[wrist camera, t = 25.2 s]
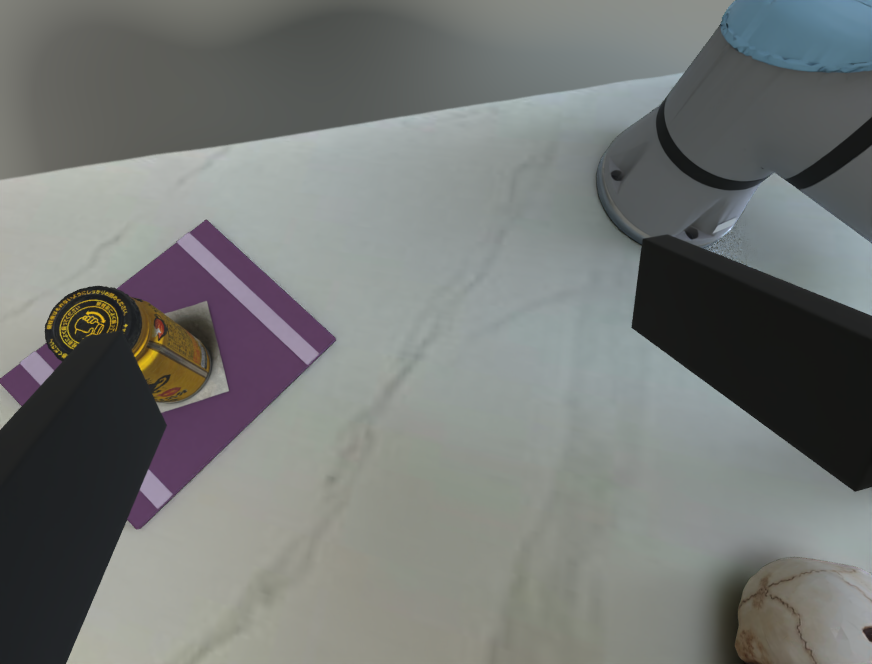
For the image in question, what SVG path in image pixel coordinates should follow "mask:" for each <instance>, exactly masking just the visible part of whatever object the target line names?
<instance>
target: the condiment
mask: <svg viewBox="0 0 872 664" xmlns="http://www.w3.org/2000/svg"><path fill="white" fill-rule="evenodd" d="M120 330H122V331H123V333H124V335H125V337H126V339H127V341H128V343H129V346H130V348H131V350H132V352H133V354H134V356H135V358H136V360H137V363H138V365H139V367H140V369H141V371H142V373H143V375H144V377H145V380H146V382H147V384H148V386H149V388H150V390H151V392H152V394H153V397H154V399H155V401H156V403H157V405H158V407H159V409H160V411H161V413H162V412H165V411H169V410H172V409H175V408H178V407H181V406H184V405H187V404H191V403H194V402H197V401H200V400H203V399H206V398H209V397H212V396H215V395H218V394H221V393H224V392H228V391H229V389H228V385H227V380H226V376H225V372H224V368H223V363H222V359H221V355H220V351H219V347H218V343H217V340H216V337H215V332H214V328H213V323H212V319H211V316H210V312H209V308H208V304H207V301H205V302H202V303H198V304H196V305H193V306H189V307H186V308H182V309H179V310H176V311H173V312H169V313H165V314H164V313H163V312H161V311H160V310H158V309H157V308H156V307H154V306H153V305H152V304H150V303H149V302H147V301H144V300H142V299H139V298H134V297H130V296H129V295H128V294H125V293H124V292H123V291H121V290H117V289H116V288H112V287H111V288H109V287H103V286H93V287H87V288H83V289H79V290H77V291H75V292H73V293H71V294H68V295H67V296H65V297H64V298H63V299H62V300H61V301H60V302H59V303H58V304H57V305H56V306H55V307H54V308H53V309H52V311H51V313H50V315H49V318H48V320H47V323H46V324H45V339H46V342H47V346H48V348H49V349H50V350H51V351H52V352H53V353H54V355H55V356H56V357H57V359H59V360H60V361H62V362H63V361H64V359H65V358H66V357H67V356H68V355H69V354H70V353H71V352H72V351H73V350H74V348H75V347H76V346H77V345H78V344H79V343H80V342H81V341H82V340H83V339H84V337H86V336H92V335H98V334H103V333H109V332H115V331H120Z"/></svg>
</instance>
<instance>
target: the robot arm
mask: <svg viewBox="0 0 872 664" xmlns="http://www.w3.org/2000/svg"><path fill="white" fill-rule="evenodd" d="M774 172H775V173H776V174H778V175H779V176H781V177H782V178H783V179H785V180H786V181H788V182H789V183H791V184H792V185H793V186H795V187H796V188H797V189H799V190H800V191H801V192H803V193H804V194H805V195H807V196H808V197H810V198H811V199H812V200H814V201H815V202H816V203H818V204H819V205H820V206H822V207H823V208H824V209H826V210H827V211H829V212H830V213H831V214H833V215H834V216H835V217H837V218H838V219H839V220H841V221H842V222H844V223H845V224H846V225H848V226H849V227H850V228H852V229H853V230H854V231H856V232H857V233H859V234H860V235H861V236H863V237H864V238H865V239H867V240H868V241H869V242H871V243H872V0H735V1H734V2H733V3H732V4H731V5H730V6H729V7H728V9H727V10H726V12H725V14H724V15H723V17H722V21H721V24H720V25H719V27H718V29H717V30H716V31H715V32H714V34H713V35H712V36H711V38H710V39H709V41H708V42H707V43H706V45H705V46H704V47H703V49H702V50H701V51H700V53H699V54H698V55H697V57H696V58H695V59H694V61H693V62H692V63H691V65H690V66H689V67H688V69H687V70H686V71H685V73H684V74H683V75H682V77H681V78H680V79H679V81H678V82H677V83H676V85H675V86H674V87H673V89H672V90H671V91H670V93H669V94H668V96H667V97H666V98H665V100H664V101H663V102H662V104H661V105H660V106H659V107H657V108H656V109H654V110H653V111H651V112H650V113H649V114H647V115H646V116H644V117H643V118H641V119H640V120H639V121H637V122H636V123H634V124H633V125H631V126H630V127H629V128H627V129H626V130H624V131H623V132H622V133H621V134H619V135H618V136H617V137H616V138H615V139H614V140H613V142H612V143H611V145H610V146H609V148H608V149H607V151H606V152H605V154H604V155H603V157H602V159H601V161H600V163H599V166H598V171H597V189H598V194H599V197H600V200H601V203H602V205H603V207H604V209H605V211H606V212H607V214H608V215H609V217H610V218H611V220H612V221H613V222H614V223H615V224H616V225H617V227H618V228H619V229H620V230H622V231H623V232H624V233H625V234H626V235H628V236H629V237H630V238H632V239H633V240H635V241H636V242H638V243H640V244H642V248H641V256H640V264H639V272H638V280H637V288H636V296H635V304H634V312H633V320H632V328H633V329H634V330H635V331H637V332H638V333H640V334H641V335H642V336H644V337H645V338H646V339H648V340H649V341H650V342H652V343H653V344H655V345H656V346H657V347H659V348H660V349H661V350H663V351H664V352H665V353H667V354H668V355H669V356H671V357H672V358H674V359H675V360H676V361H678V362H679V363H680V364H682V365H683V366H684V367H686V368H687V369H689V370H690V371H691V372H693V373H694V374H695V375H697V376H698V377H699V378H701V379H702V380H704V381H705V382H706V383H708V384H709V385H710V386H712V387H713V388H714V389H716V390H717V391H719V392H720V393H721V394H723V395H724V396H725V397H727V398H728V399H729V400H731V401H732V402H733V403H735V404H736V405H738V406H739V407H740V408H742V409H743V410H744V411H746V412H747V413H748V414H750V415H751V416H753V417H754V418H755V419H757V420H758V421H759V422H761V423H762V424H763V425H765V426H766V427H768V428H769V429H770V430H772V431H773V432H774V433H776V434H777V435H778V436H780V437H781V438H783V439H784V440H785V441H787V442H788V443H789V444H791V445H792V446H793V447H795V448H796V449H798V450H799V451H800V452H802V453H803V454H804V455H806V456H807V457H808V458H810V459H811V460H812V461H814V462H815V463H817V464H818V465H819V466H821V467H822V468H823V469H825V470H826V471H827V472H829V473H830V474H832V475H833V476H834V477H836V478H837V479H838V480H840V481H841V482H842V483H844V484H845V485H847V486H848V487H849V488H851V489H852V490H853V491H855V492H856V491H859V490H863V489H866V488H869V487H872V316H871V315H868V314H866V313H863V312H861V311H858V310H856V309H853V308H851V307H848V306H846V305H843V304H841V303H838V302H836V301H833V300H831V299H828V298H826V297H823V296H821V295H818V294H816V293H813V292H811V291H808V290H806V289H803V288H801V287H798V286H796V285H793V284H791V283H788V282H786V281H783V280H781V279H778V278H776V277H773V276H771V275H768V274H766V273H763V272H761V271H758V270H756V269H753V268H751V267H748V266H746V265H743V264H741V263H738V262H736V261H733V260H731V259H728V258H726V257H723V256H721V255H718V254H716V253H713V252H711V251H708V250H706V249H704V248H706V247H708V246H710V245H711V244H713V243H714V242H715V241H717V240H718V239H720V238H721V237H722V236H724V235H725V234H726V233H727V232H728V231H729V230H730V229H731V228H732V227H733V225H734V224H735V223H736V221H737V220H738V218H739V217H740V215H741V213H742V212H743V210H744V209H745V207H746V205H747V204H748V202H749V201H750V199H751V197H752V196H753V194H754V192H755V191H756V189H757V188H758V186H759V184H760V183H761V182H763V181H764V180H765V179H766V178H768V177H769V176H770V175H771V174H773V173H774ZM166 426H167V424H166V422H165V420H164V418H163V416H162V414H161V411H160V409H159V407H158V405H157V403H156V401H155V399H154V397H153V394H152V392H151V390H150V388H149V386H148V384H147V382H146V380H145V377H144V375H143V373H142V371H141V369H140V367H139V365H138V363H137V360H136V358H135V356H134V354H133V352H132V350H131V348H130V346H129V343H128V341H127V339H126V337H125V335H124V333H123V331H122V330H120V331H115V332H109V333H103V334H98V335H92V336H86V337H84V339H83V340H82V341H81V342H80V343H79V344H78V345H77V346H76V347H75V348H74V350H73V351H72V352H71V353H70V354H69V355H68V356H67V357H66V358H65V359H64V361H63V362H62V363H61V364H60V365H59V366H58V367H57V368H56V369H55V370H54V372H53V373H52V374H51V375H50V376H49V377H48V378H47V379H46V380H45V381H44V383H43V384H42V385H41V386H40V387H39V388H38V389H37V390H36V391H35V392H34V394H33V395H32V396H31V397H30V398H29V399H28V400H27V401H26V402H25V403H24V404H23V406H22V407H21V408H20V409H19V410H18V411H17V412H16V413H15V414H14V415H13V417H12V418H11V419H10V420H9V421H8V422H7V423H6V424H5V425H4V426H3V428H2V429H1V430H0V664H66V662H67V660H68V658H69V655H70V653H71V650H72V648H73V646H74V643H75V641H76V639H77V636H78V634H79V632H80V629H81V627H82V625H83V622H84V620H85V617H86V615H87V613H88V610H89V608H90V606H91V603H92V601H93V599H94V596H95V594H96V592H97V589H98V587H99V584H100V582H101V580H102V577H103V575H104V573H105V570H106V568H107V566H108V563H109V561H110V559H111V556H112V554H113V551H114V549H115V547H116V544H117V542H118V540H119V537H120V535H121V533H122V530H123V528H124V526H125V523H126V521H127V518H128V516H129V514H130V511H131V509H132V507H133V504H134V502H135V500H136V497H137V495H138V492H139V490H140V488H141V485H142V483H143V481H144V478H145V476H146V474H147V471H148V469H149V467H150V464H151V462H152V459H153V457H154V455H155V452H156V450H157V448H158V445H159V443H160V441H161V438H162V436H163V434H164V431H165V429H166Z"/></svg>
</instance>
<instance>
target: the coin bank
mask: <svg viewBox="0 0 872 664" xmlns="http://www.w3.org/2000/svg"><path fill="white" fill-rule="evenodd" d="M738 621H739V627H738V631H737V636H736V641H735V648H736V651H737V653H738V656H739V657H740V658H741V659H742V660H743V661H744V662H745V664H872V574H871V573H868V572H866V571H865V570H863V569H860V568H858V567H854V566H849V565H844V564H838V563H833V562H828V561H821V560H815V559H808V558H800V557H790V558H784V559H779V560H776V561H774V562H771V563H769V564H768V565H766V566H764V567H762V568H761V569H760V570H759V571H758V572H757V573H756V574H755V575H754V576H752V577H751V578H750V579H749V580H748V582H747V584H746V585H745V588H744V590H743V593H742V598H741V602H740V604H739V606H738Z"/></svg>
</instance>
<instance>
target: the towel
mask: <svg viewBox="0 0 872 664" xmlns="http://www.w3.org/2000/svg"><path fill="white" fill-rule="evenodd" d="M176 242H177V243H175V244H174V245H173V246H171V247H170V248H169V249H167V250H166V251H165V252H164V253H162V254H161V255H160V256H158V257H157V258H156V259H155V260H153V261H152V262H151V263H149V264H148V265H147V266H145V267H144V268H143V269H142V270H140V271H139V272H138V273H136V274H135V275H134V276H133V277H131V278H130V279H129V280H127V281H126V282H125V283H123V284H122V285H121V286H120V287H118V288H117V290H121V291H123V292H124V293H125V294H128V295H129V296H130V297H134V298H139V299H142V300H144V301H147V302H149V303H150V304H152V305H153V306H154V307H156V308H157V309H158V310H160V311H161V312H163V313H164V314H165V313H169V312H173V311H176V310H179V309H182V308H186V307H189V306H193V305H196V304H198V303H202V302H205V301H207V304H208V308H209V312H210V316H211V319H212V323H213V328H214V332H215V337H216V340H217V343H218V347H219V351H220V355H221V359H222V363H223V368H224V372H225V376H226V380H227V385H228V389H229V391H228V392H224V393H221V394H218V395H215V396H212V397H209V398H206V399H203V400H200V401H197V402H194V403H191V404H187V405H184V406H181V407H178V408H175V409H172V410H169V411H165V412H162V413H161V414H162V416H163V418H164V420H165V422H166V424H167V426H166V429H165V431H164V434H163V436H162V438H161V441H160V443H159V445H158V448H157V450H156V452H155V455H154V457H153V459H152V462H151V464H150V467H149V469H148V471H147V474H146V476H145V478H144V481H143V483H142V485H141V488H140V490H139V492H138V495H137V497H136V500H135V502H134V504H133V507H132V509H131V511H130V514H129V516H128V518H127V520H128V521H129V522H130V523H131V524H132V525H133V526H134V528H135V529H141V528H142V527H143V526H144V525H145V524H146V523H147V522H148V521H149V520H150V519H151V518H152V517H153V516H154V515H155V514H156V513H157V512H158V511H159V510H160V509H161V508H162V507H163V506H164V505H165V504H167V503H168V502H169V501H170V500H171V499H172V498H173V497H174V496H175V495H176V494H177V493H178V492H179V491H180V490H181V489H182V488H183V487H184V486H185V485H186V484H187V483H188V482H189V481H190V480H191V479H192V478H193V477H195V476H196V475H197V474H198V473H199V472H200V471H201V470H202V469H203V468H204V467H205V466H206V465H207V464H208V463H209V462H210V461H211V460H212V459H213V458H214V457H215V456H216V455H217V454H218V453H219V452H220V451H222V450H223V449H224V448H225V447H226V446H227V445H228V444H229V443H230V442H231V441H232V440H233V439H234V438H235V437H236V436H237V435H238V434H239V433H240V432H241V431H242V430H243V429H244V428H245V427H246V426H247V425H248V424H250V423H251V422H252V421H253V420H254V419H255V418H256V417H257V416H258V415H259V414H260V413H261V412H262V411H263V410H264V409H265V408H266V407H267V406H268V405H269V404H270V403H271V402H272V401H273V400H274V399H275V398H277V397H278V396H279V395H280V394H281V393H282V392H283V391H284V390H285V389H286V388H287V387H288V386H289V385H290V384H291V383H292V382H293V381H294V380H295V379H296V378H297V377H298V376H299V375H300V374H301V373H302V372H303V371H305V370H306V369H307V368H308V367H309V366H310V365H311V364H312V363H313V362H314V361H315V360H316V359H317V358H318V357H319V356H320V355H321V354H322V353H323V352H324V351H325V350H326V349H327V348H328V347H329V346H330V345H332V344H333V343H334V342H335V341H336V338H335V337H334V336H333V335H332V334H331V333H330V332H328V331H327V330H326V329H325V328H324V327H323V326H322V325H321V324H320V323H319V322H318V321H316V320H315V319H314V318H313V317H312V316H311V315H310V314H309V313H308V312H307V311H306V310H304V309H303V308H302V307H301V306H300V305H299V304H298V303H297V302H296V301H295V300H294V299H292V298H291V297H290V296H289V295H288V294H287V293H286V292H285V291H284V290H283V289H282V288H281V287H279V286H278V285H277V284H276V283H275V282H274V281H273V280H272V279H271V278H270V277H269V276H267V275H266V274H265V273H264V272H263V271H262V270H261V269H260V268H259V267H258V266H257V265H255V264H254V263H253V262H252V261H251V260H250V259H249V258H248V257H247V256H246V255H245V254H243V253H242V252H241V251H240V250H239V249H238V248H237V247H236V246H235V245H234V244H233V243H232V242H230V241H229V240H228V239H227V238H226V237H225V236H224V235H223V234H222V233H221V232H220V231H218V230H217V229H216V228H215V227H214V226H213V225H212V224H211V223H210V222H209V221H208V220H205V221H204V222H202V223H201V224H200V225H199V226H197V227H196V228H195V229H193V230H192V231H191V232H190V233H189V232H188V233H187V234H185V235H184V236H183V237H182V238H180V239H179V240H178V241H176ZM61 363H62V361H60V360H59V359H57V357H56V356H55V355H54V353H53V352H52V351H51V350H50V349H49V348H48V346H47V343H46V344H44V345H43V346H42V347H41V348H39V349H38V350H37V351H34V352H33V353H31V354H30V355H29V356H27V357H26V358H25V359H23V360H22V361H21V362H20V364H19V365H17V366H16V367H15V368H13V369H12V370H11V371H10V372H8V373H7V374H6V375H4V376H3V377H2V378H0V384H1V385H2V386H3V387H4V388H5V389H6V390H7V391H8V392H9V393H10V394H11V395H12V396H13V398H14V399H15V400H16V401H17V402H18V403H19V404H20V405H21V406H23V404H24V403H25V402H26V401H27V400H28V399H29V398H30V397H31V396H32V395H33V394H34V392H35V391H36V390H37V389H38V388H39V387H40V386H41V385H42V384H43V383H44V381H45V380H46V379H47V378H48V377H49V376H50V375H51V374H52V373H53V372H54V370H55V369H56V368H57V367H58V366H59V365H60V364H61Z"/></svg>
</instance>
